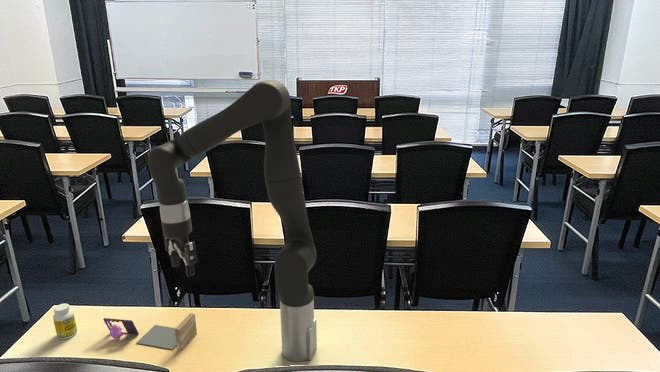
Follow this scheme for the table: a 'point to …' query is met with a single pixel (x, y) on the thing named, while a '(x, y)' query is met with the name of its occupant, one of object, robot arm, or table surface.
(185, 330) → the tile
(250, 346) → the table surface
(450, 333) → the table surface
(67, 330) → the supplement bottle
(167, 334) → the felt mat
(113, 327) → the purple toy case
